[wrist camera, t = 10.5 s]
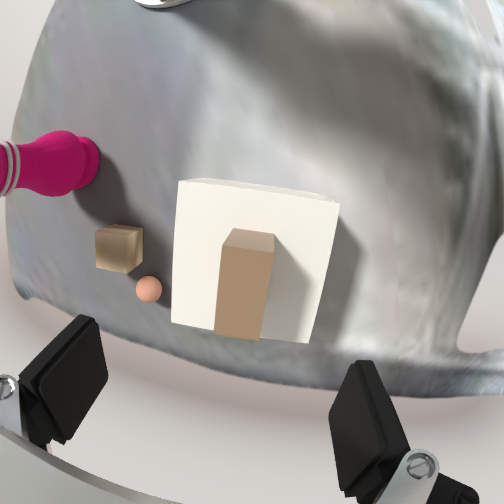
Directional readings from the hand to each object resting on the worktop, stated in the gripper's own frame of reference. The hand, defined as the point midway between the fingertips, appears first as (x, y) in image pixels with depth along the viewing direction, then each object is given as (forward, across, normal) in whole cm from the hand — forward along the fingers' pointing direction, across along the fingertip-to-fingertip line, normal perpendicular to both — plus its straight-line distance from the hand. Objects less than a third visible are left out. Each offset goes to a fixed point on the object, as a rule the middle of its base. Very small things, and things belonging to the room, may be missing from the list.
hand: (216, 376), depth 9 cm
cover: (+21, 0, +1) cm, 21 cm away
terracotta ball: (+21, +10, +8) cm, 25 cm away
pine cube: (+21, +14, +3) cm, 26 cm away
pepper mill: (+22, +22, -6) cm, 31 cm away
